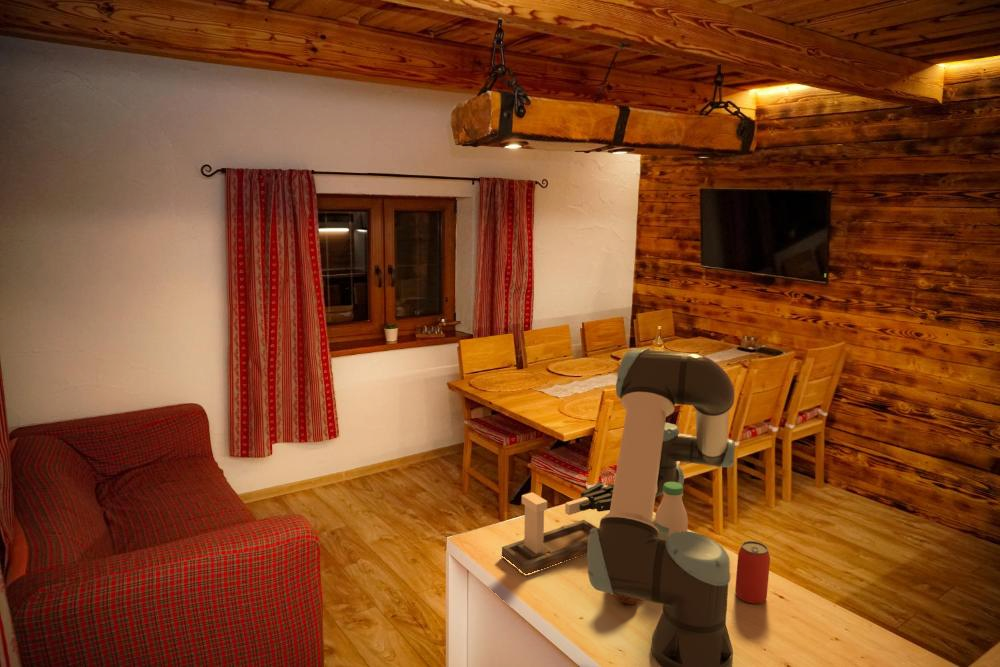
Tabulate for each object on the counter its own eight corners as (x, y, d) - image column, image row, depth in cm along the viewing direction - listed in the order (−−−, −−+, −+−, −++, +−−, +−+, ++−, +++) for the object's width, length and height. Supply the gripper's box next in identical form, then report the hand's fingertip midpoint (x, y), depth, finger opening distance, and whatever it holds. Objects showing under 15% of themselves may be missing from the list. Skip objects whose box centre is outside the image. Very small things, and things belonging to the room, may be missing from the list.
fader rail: (583, 529, 181) (583, 518, 181) (609, 545, 173) (609, 534, 173) (501, 558, 167) (501, 546, 167) (525, 576, 159) (525, 564, 159)
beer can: (735, 602, 150) (739, 552, 147) (734, 586, 156) (738, 537, 153) (767, 607, 148) (772, 556, 145) (765, 591, 154) (769, 542, 151)
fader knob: (533, 545, 170) (534, 490, 167) (550, 556, 165) (551, 500, 162) (517, 551, 168) (517, 495, 165) (533, 562, 162) (534, 506, 159)
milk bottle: (682, 554, 169) (687, 479, 165) (687, 571, 162) (692, 492, 158) (650, 553, 170) (654, 477, 166) (654, 569, 162) (658, 491, 158)
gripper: (653, 509, 178) (583, 533, 166) (618, 492, 189) (550, 513, 176) (654, 482, 177) (584, 504, 164) (619, 466, 188) (551, 485, 175)
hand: (567, 509), depth 170 cm, fingers closed
